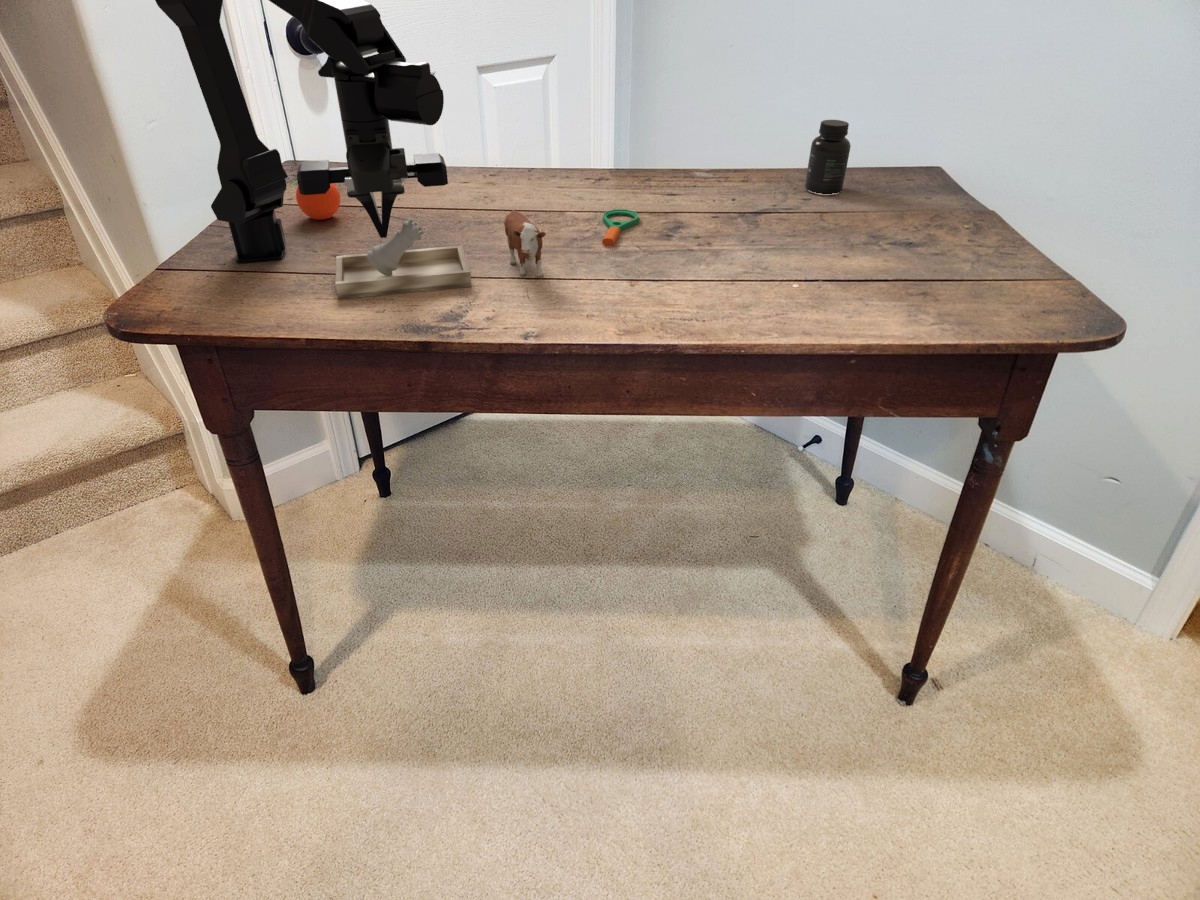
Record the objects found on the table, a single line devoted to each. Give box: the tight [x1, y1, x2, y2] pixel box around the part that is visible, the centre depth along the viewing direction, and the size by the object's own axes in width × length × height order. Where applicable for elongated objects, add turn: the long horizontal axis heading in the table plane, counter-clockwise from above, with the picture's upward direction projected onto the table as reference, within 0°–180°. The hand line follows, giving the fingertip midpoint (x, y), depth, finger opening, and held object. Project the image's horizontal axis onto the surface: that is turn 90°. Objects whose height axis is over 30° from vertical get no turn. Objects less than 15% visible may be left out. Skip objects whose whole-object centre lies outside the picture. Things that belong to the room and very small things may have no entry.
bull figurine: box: [503, 209, 547, 279], centre depth 113 cm, size 4×13×8 cm, turn 15°
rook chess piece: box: [367, 218, 425, 276], centre depth 110 cm, size 4×4×8 cm
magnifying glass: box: [601, 208, 640, 247], centre depth 129 cm, size 15×6×2 cm, turn 169°
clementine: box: [287, 180, 341, 221], centre depth 130 cm, size 8×7×7 cm
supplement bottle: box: [804, 119, 852, 194], centre depth 143 cm, size 7×7×12 cm
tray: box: [334, 245, 472, 300], centre depth 112 cm, size 18×10×2 cm, turn 104°
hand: (383, 236), depth 109 cm, fingers closed
